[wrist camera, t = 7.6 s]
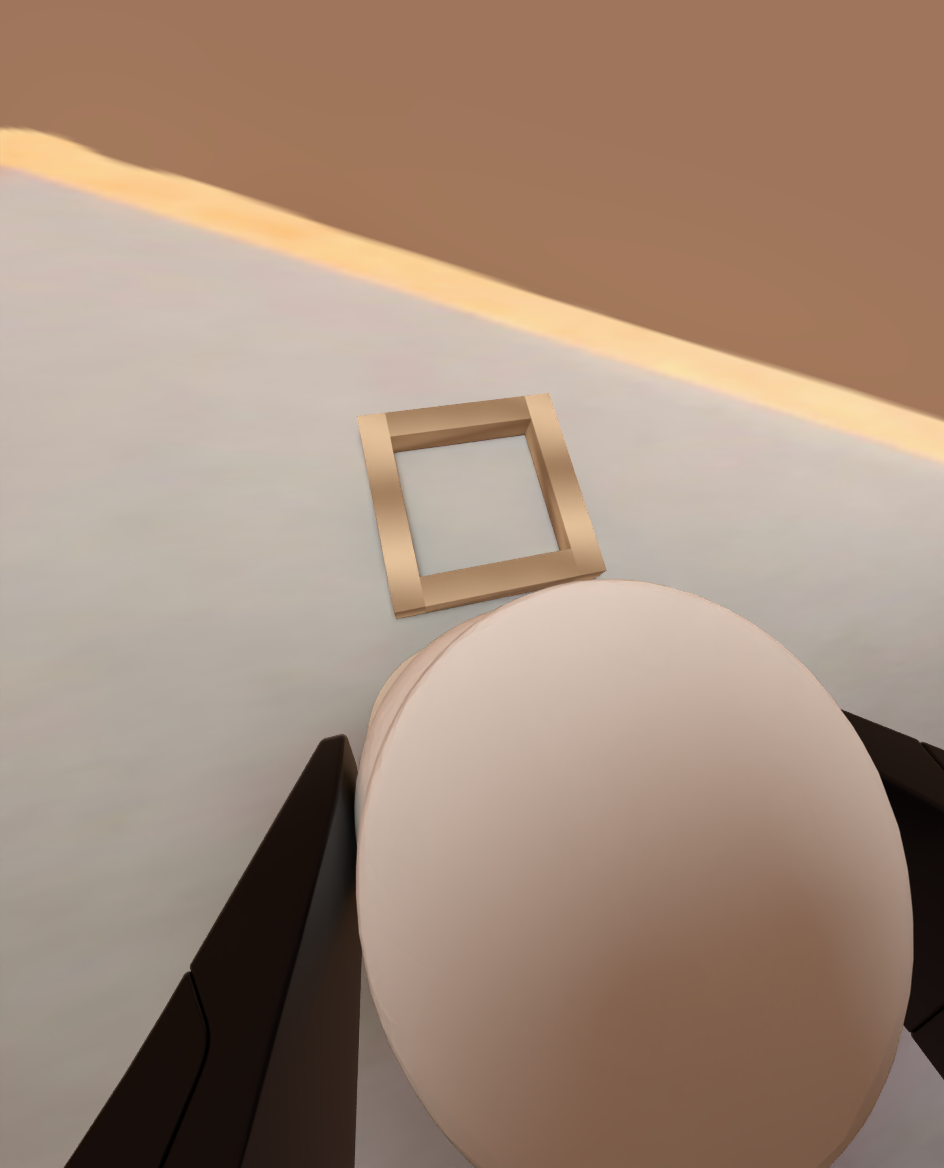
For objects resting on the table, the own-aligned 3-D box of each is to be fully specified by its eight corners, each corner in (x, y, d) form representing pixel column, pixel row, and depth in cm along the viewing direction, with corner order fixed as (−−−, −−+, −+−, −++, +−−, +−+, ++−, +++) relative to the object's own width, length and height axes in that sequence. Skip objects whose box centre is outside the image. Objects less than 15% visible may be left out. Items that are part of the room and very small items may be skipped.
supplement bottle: (592, 683, 16) (956, 622, 5) (559, 877, 14) (1035, 1476, 3) (423, 635, 16) (417, 466, 5) (366, 825, 14) (139, 1258, 3)
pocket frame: (595, 578, 23) (606, 570, 22) (396, 619, 22) (394, 612, 20) (541, 410, 26) (548, 393, 25) (360, 433, 24) (357, 416, 23)
